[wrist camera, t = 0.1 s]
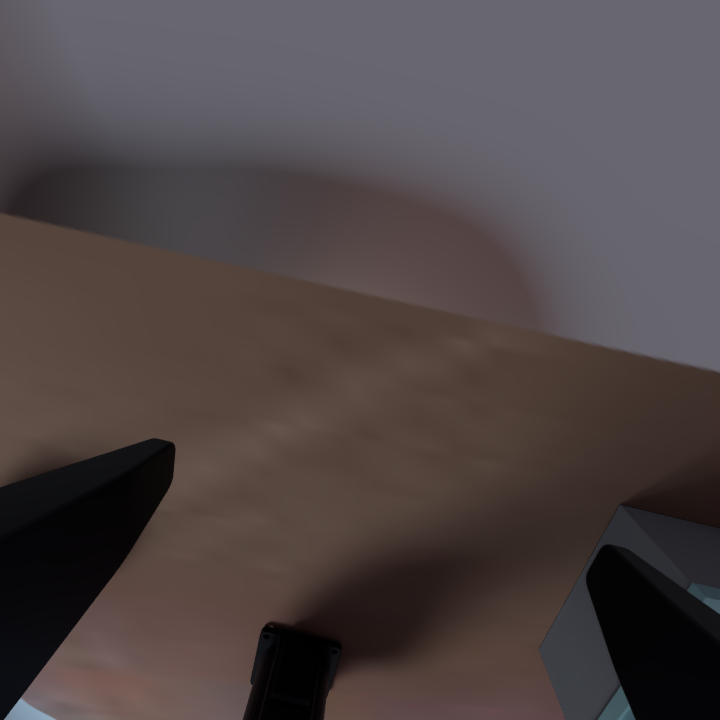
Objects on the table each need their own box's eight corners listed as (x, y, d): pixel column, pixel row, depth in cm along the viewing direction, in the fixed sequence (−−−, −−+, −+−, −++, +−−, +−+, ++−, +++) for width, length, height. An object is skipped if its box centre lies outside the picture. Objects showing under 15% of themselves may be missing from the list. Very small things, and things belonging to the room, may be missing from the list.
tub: (686, 682, 29) (762, 792, 23) (538, 649, 28) (578, 752, 23) (793, 545, 24) (919, 638, 19) (619, 504, 24) (694, 586, 18)
